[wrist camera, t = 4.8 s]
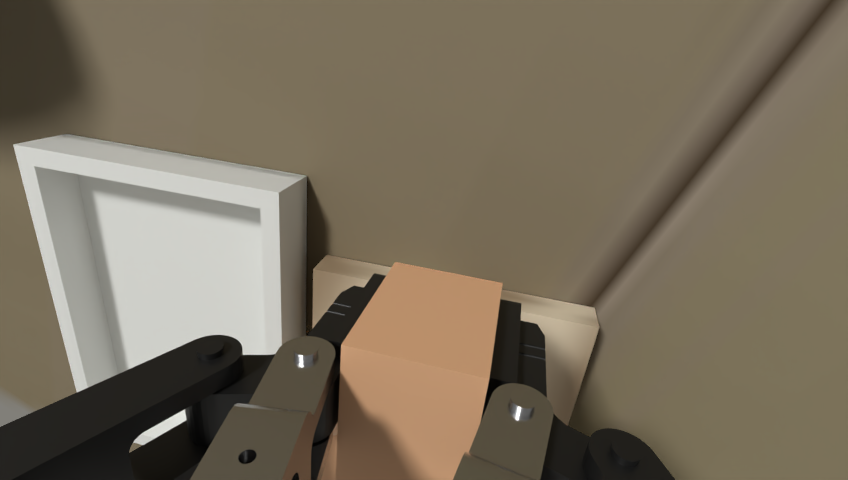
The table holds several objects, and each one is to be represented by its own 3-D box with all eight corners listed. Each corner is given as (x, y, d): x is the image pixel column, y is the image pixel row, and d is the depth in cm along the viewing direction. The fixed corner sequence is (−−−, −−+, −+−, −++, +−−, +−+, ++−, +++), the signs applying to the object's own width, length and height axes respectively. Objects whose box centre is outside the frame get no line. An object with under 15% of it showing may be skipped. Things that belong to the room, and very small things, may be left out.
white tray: (306, 175, 20) (278, 192, 18) (305, 446, 27) (284, 484, 24) (66, 133, 22) (13, 144, 19) (121, 398, 28) (86, 429, 26)
